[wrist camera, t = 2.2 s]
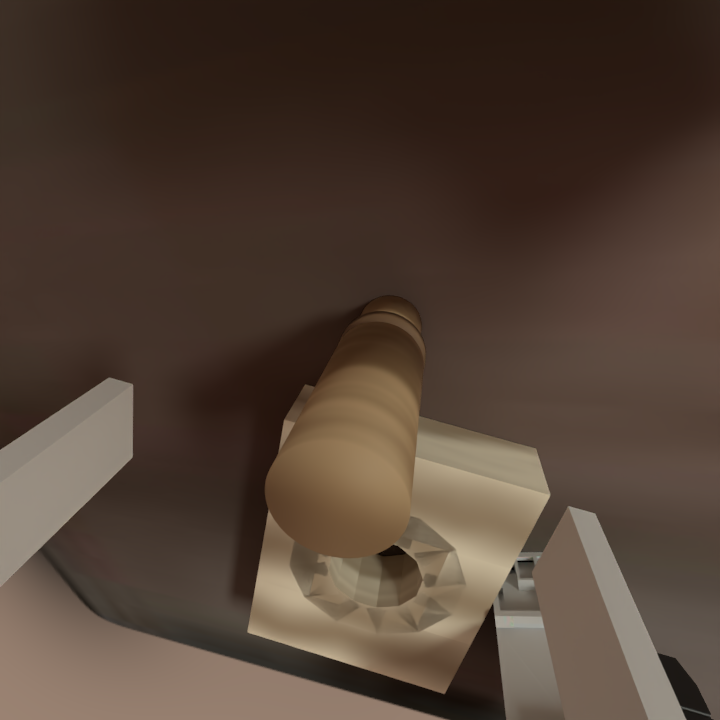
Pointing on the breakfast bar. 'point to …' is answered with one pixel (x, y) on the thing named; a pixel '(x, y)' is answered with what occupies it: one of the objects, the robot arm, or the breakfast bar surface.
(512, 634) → the circuit breaker
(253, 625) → the board
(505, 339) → the breakfast bar surface
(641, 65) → the breakfast bar surface
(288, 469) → the peg
